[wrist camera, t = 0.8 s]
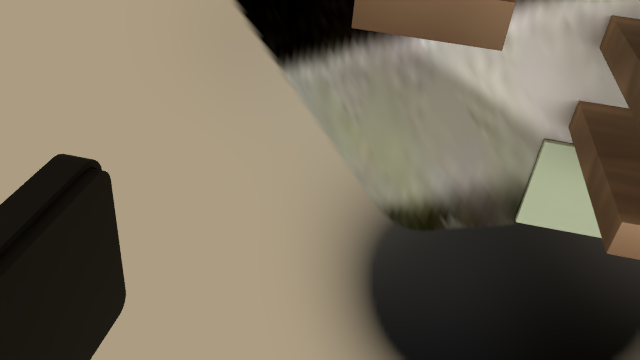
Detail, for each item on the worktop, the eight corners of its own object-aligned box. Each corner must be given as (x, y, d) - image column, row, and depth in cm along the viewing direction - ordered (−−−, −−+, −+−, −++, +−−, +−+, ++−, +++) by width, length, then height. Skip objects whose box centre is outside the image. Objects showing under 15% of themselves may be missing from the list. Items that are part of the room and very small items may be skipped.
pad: (544, 139, 31) (544, 142, 31) (680, 162, 31) (681, 165, 30) (515, 218, 35) (515, 221, 35) (637, 241, 34) (638, 244, 34)
